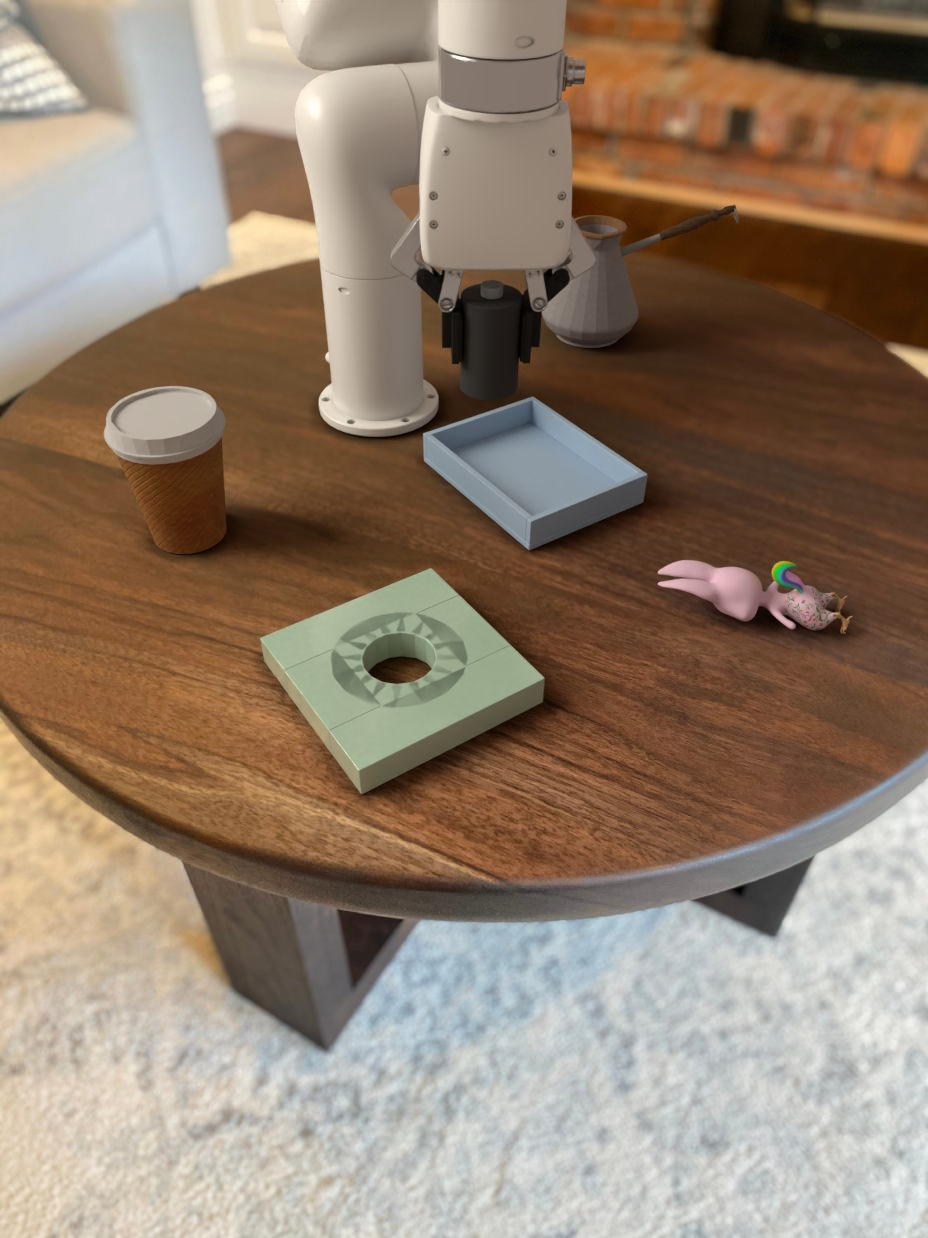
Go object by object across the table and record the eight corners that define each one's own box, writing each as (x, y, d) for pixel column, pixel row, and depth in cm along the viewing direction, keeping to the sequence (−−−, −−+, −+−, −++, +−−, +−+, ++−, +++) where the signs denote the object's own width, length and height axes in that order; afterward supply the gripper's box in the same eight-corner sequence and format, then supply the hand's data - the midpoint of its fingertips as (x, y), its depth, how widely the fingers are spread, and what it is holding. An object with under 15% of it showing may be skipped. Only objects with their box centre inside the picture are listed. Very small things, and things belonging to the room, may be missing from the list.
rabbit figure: (827, 609, 78) (651, 569, 78) (860, 554, 74) (674, 512, 74) (839, 662, 73) (651, 619, 73) (874, 606, 69) (675, 560, 69)
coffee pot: (543, 355, 109) (552, 222, 99) (536, 313, 117) (544, 187, 107) (726, 355, 109) (754, 223, 99) (706, 313, 118) (730, 187, 108)
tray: (423, 461, 92) (422, 433, 90) (531, 423, 97) (533, 396, 95) (529, 550, 81) (530, 521, 79) (643, 502, 87) (648, 474, 85)
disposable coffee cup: (191, 580, 78) (161, 455, 70) (111, 542, 82) (73, 420, 74) (267, 523, 84) (247, 402, 76) (189, 490, 88) (162, 372, 80)
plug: (449, 381, 72) (449, 279, 67) (496, 367, 74) (500, 266, 69) (480, 406, 69) (483, 302, 64) (528, 391, 71) (535, 288, 66)
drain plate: (264, 661, 71) (259, 637, 69) (431, 591, 77) (431, 567, 76) (361, 795, 62) (358, 770, 60) (543, 702, 68) (545, 678, 66)
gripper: (625, 65, 61) (594, 331, 73) (363, 64, 60) (377, 333, 72) (647, 97, 55) (609, 379, 68) (359, 96, 55) (375, 381, 67)
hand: (489, 352), depth 70 cm, fingers closed on plug, 4 cm apart
